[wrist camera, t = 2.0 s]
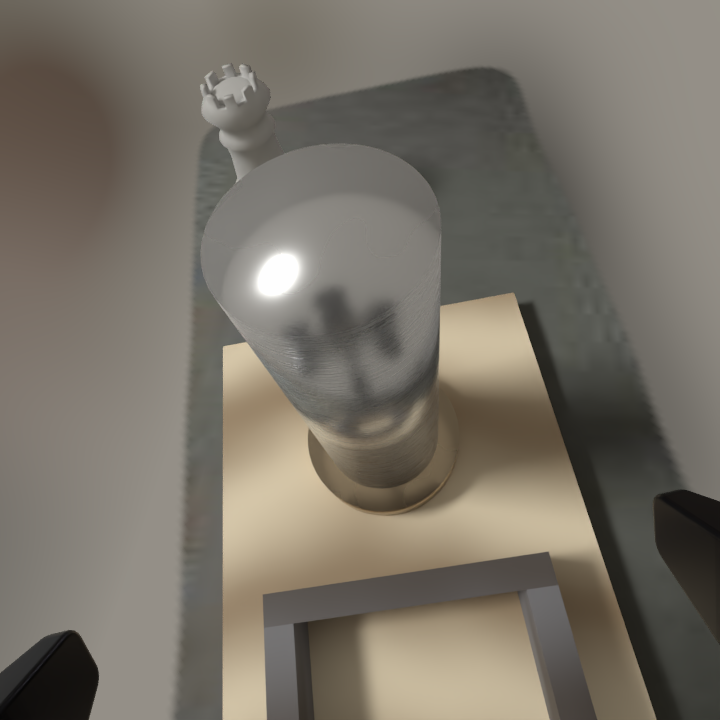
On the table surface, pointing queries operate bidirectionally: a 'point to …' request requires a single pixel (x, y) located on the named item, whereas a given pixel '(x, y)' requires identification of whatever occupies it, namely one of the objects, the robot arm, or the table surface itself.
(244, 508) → the carrier board
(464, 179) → the table surface
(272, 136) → the rook chess piece
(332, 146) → the grey rounded piece
